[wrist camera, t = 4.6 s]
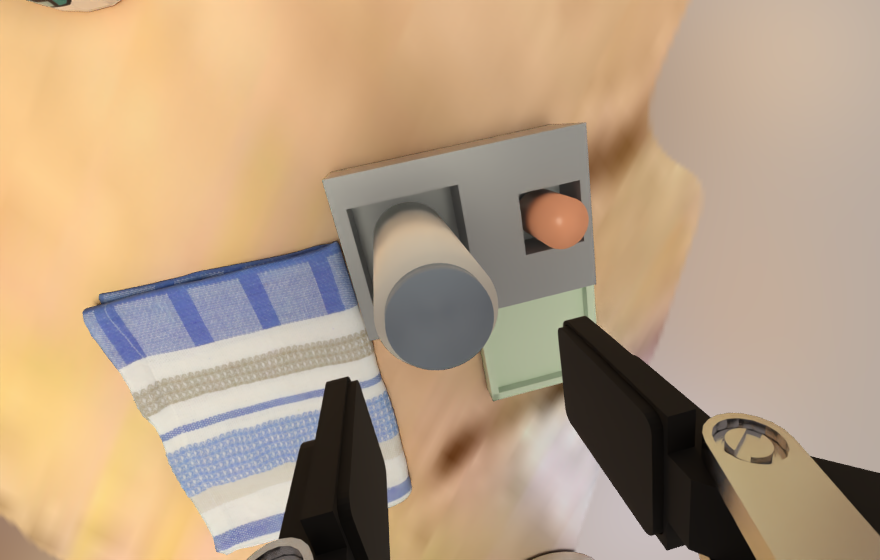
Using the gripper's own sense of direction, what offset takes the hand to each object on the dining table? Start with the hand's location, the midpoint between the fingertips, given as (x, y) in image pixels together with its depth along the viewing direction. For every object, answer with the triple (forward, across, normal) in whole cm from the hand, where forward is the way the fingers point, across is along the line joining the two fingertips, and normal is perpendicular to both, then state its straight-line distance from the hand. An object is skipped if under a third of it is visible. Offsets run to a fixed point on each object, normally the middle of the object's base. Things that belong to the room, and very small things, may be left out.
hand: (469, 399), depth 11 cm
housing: (+19, -4, 0) cm, 20 cm away
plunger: (+17, -8, 0) cm, 19 cm away
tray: (+19, -8, +10) cm, 23 cm away
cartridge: (+17, 0, 0) cm, 17 cm away
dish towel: (+20, +13, +11) cm, 26 cm away
